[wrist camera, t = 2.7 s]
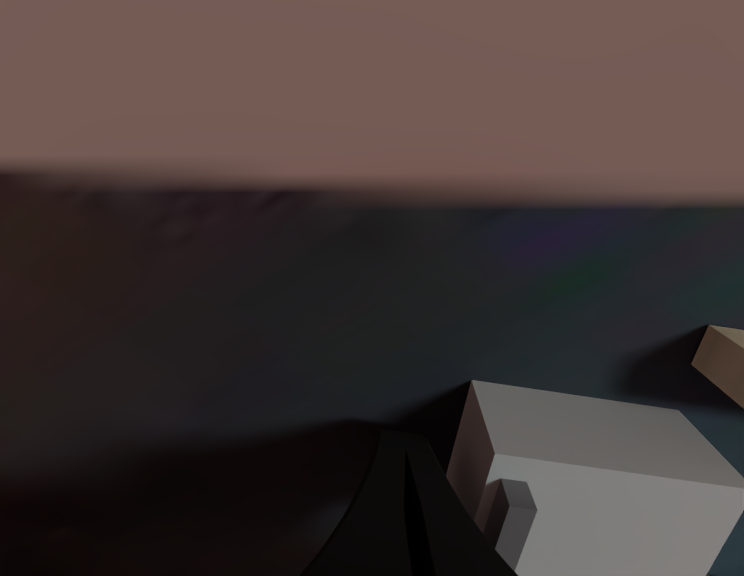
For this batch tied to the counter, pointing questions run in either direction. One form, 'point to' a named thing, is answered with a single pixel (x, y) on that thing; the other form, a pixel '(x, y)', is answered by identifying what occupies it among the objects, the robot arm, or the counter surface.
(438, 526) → the robot arm
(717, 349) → the bay
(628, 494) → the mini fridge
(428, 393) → the counter surface
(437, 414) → the counter surface
